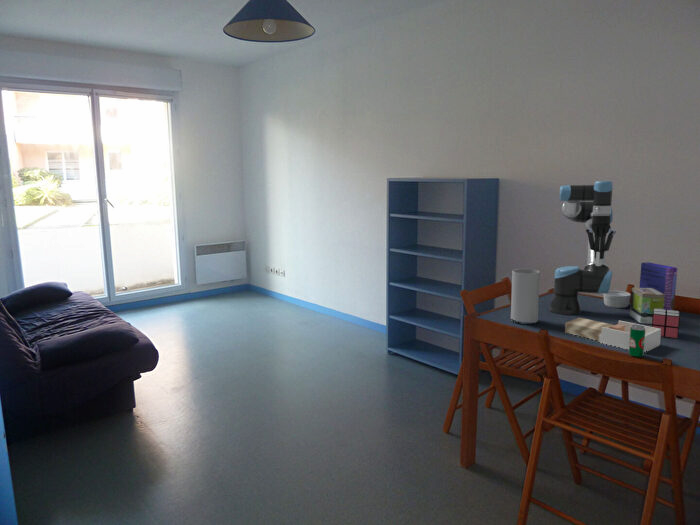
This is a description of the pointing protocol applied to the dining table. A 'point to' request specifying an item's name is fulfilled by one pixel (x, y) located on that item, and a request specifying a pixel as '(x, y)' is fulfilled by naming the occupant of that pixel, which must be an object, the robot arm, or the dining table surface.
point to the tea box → (645, 304)
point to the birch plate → (585, 328)
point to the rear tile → (619, 327)
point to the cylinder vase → (525, 295)
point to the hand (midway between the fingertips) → (598, 265)
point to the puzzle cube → (666, 322)
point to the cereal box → (660, 281)
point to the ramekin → (617, 299)
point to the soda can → (637, 340)
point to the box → (623, 338)
